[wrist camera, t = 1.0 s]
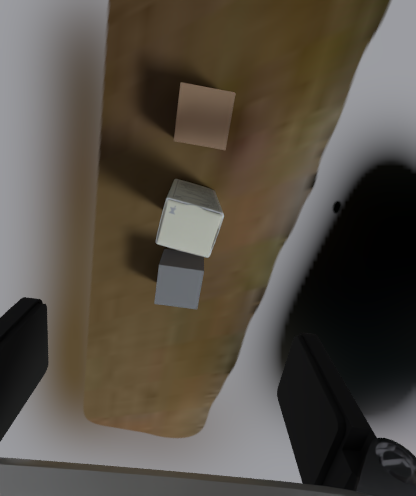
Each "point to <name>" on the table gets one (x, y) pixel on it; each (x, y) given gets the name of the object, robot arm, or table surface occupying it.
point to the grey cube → (179, 279)
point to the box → (190, 219)
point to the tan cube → (203, 116)
